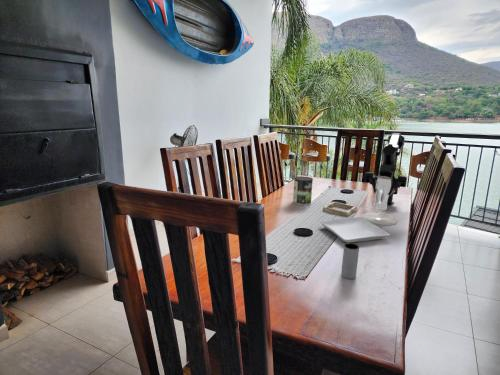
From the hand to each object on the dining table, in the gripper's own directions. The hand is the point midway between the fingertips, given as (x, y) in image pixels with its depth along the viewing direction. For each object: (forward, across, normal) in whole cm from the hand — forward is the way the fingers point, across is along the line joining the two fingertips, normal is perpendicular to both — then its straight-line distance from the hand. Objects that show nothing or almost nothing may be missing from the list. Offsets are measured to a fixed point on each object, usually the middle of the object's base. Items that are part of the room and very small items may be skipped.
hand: (381, 194), depth 148 cm
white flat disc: (+8, 0, +10) cm, 13 cm away
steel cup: (+4, 0, +6) cm, 7 cm away
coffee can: (+5, -42, +14) cm, 44 cm away
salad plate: (+26, -7, -8) cm, 28 cm away
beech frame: (+6, -20, +12) cm, 24 cm away
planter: (+52, -1, -34) cm, 62 cm away
